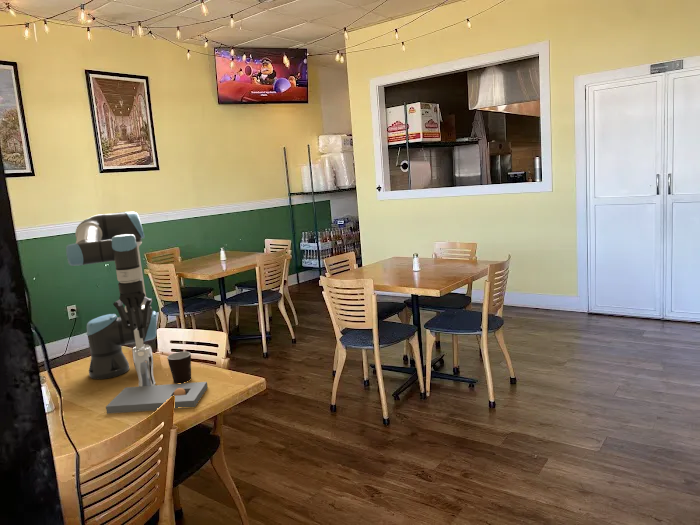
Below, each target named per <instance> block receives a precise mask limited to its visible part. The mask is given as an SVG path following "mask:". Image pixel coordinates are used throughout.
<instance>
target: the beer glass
mask: <svg viewBox="0 0 700 525" xmlns="http://www.w3.org/2000/svg"><path fill="white" fill-rule="evenodd" d="M151 346H152V345H151V344H150V345H149V344H144V346H143V347H142V348H138V349H136V346H134V347H132V349H131V353H132V362H133V364H134V368H135V371H136V374H137V377H138V387H139V386H153V385H156V384H157V382H156V380H155V377H154V357H153V356H154V355H153V350H152V347H151Z"/></svg>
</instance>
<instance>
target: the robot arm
mask: <svg viewBox="0 0 700 525" xmlns="http://www.w3.org/2000/svg"><path fill="white" fill-rule="evenodd" d="M74 232H75V238H76V241H75V243H74V242H73V243H70V244H66V246H65V251H66V252H65V253H66V254H65V255H66V259H67V262H68V265H69V266H72V267H75V266H80V267H82V266H85V265H86V266H87V265H93V264H100V263H107V262H108V263H109V262H114V265H115V272H116V278H117V281H118V283H117V284H118V292H119V297H118V300H116V301H114V302H113V306H114V308H115V309H116V310H117V312H118V315H119V317H118V315H117V314H116V313H107V314H103V315H101V316H97V317H95V318H92V319H91V320H89V321H88V322H87V323H86V335H87V339H88V346H89V351H90V356H91V357H90V363H89V370H88V375H89V376H88V377H89V378H90V379H93V380H105V379H111V378H115V377H118V376H121V375H123V374H125V373H127V372H128V371H129V370H130V362H129V360H128V359H127V357H126V355H125V354H124V352H123V349H122V348H123V347H122V346H125V345H133V344H135V347H136V349H138V348H142V347H143V346H144V345H145V344H144V343H145V342H147V341H152V340H154V339H155V338H157V312H156V311H155V310H153V308H152V306H151V305H152V303H153V301H154V299H153V298H152V297H151V298H149V297H147V293H146V288H145V287H146V286H145V281H144V274H143V268H142V262H141V253H140V246H141V245H142V243H143V240H142V239H145V233H144V232H145V231H144V229H143V225H142V221H141V218H140V216H139V214H138V213H137V212H135V211H122V212H121V211H120V212H114V213H103V214H101V213H100V214H95V215H92V216H90V217H88V218H86V219H83V221H81V222H80V223H79V224H78V225H77V227H76V229H75V231H74Z"/></svg>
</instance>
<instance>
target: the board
mask: <svg viewBox="0 0 700 525" xmlns="http://www.w3.org/2000/svg"><path fill="white" fill-rule="evenodd" d="M177 388H183V389H184V390H185V392H186V395H177V396H175V408H178V407H195V406H197V405H198V404H197V403H199V402H200V401H199V400H201V399H202V398H203V396H204V395H205V393H206V392H205V391H207V390H208V389H209V387H208V382H207V381H201V382H199V381H197V382H186V383H181V384H176V383H172V384H157V385H156V384H155V385H153V386H139V385H138V386H127V387H124V388H123V389H122V390H121V391H120V392H119V393H118V394H117V395H116V396H115V397H113V399H112V400H111V401H110V402H109V403H108V404H107V405H106V406H105V410H106V414H117V413H118V414H119V413H135V412H149V411H157V410H156V409H157V408H159V407H160V406H161V405H162V404H163V403H164V402H166V400H167V399H169V398H170V397H171V396H173V395H174V391H175V390H176V389H177ZM207 388H208V389H207ZM206 389H207V390H206ZM204 392H205V393H204ZM203 394H204V395H203ZM202 395H203V396H202ZM201 397H202V398H201ZM200 398H201V399H200ZM198 401H199V402H198ZM196 404H197V405H196ZM195 408H196V407H195Z"/></svg>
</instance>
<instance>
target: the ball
mask: <svg viewBox="0 0 700 525" xmlns="http://www.w3.org/2000/svg"><path fill="white" fill-rule="evenodd" d="M177 395H186V392H185V390H184V389H183V388H177V389H176V390H175V391H174V396H177Z"/></svg>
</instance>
